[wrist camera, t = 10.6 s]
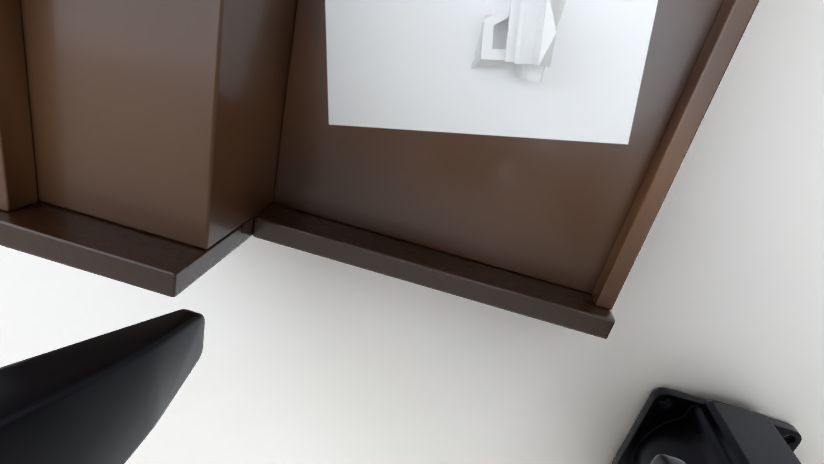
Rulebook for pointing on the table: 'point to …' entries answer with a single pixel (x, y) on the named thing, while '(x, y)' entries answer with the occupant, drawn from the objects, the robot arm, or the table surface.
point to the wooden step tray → (321, 157)
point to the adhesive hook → (489, 66)
